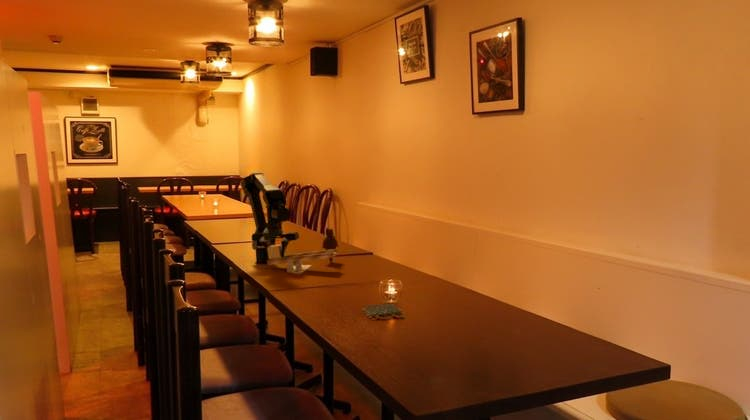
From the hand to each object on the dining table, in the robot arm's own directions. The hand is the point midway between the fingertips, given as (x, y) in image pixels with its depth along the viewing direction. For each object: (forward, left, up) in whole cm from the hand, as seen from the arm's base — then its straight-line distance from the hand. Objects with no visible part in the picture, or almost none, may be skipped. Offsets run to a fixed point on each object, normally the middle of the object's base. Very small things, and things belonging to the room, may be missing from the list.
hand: (276, 256), depth 242 cm
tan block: (0, 0, -1) cm, 1 cm away
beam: (+7, 0, -2) cm, 8 cm away
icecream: (+18, +18, -6) cm, 27 cm away
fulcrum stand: (+7, 0, -6) cm, 10 cm away
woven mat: (+53, -59, -7) cm, 80 cm away
